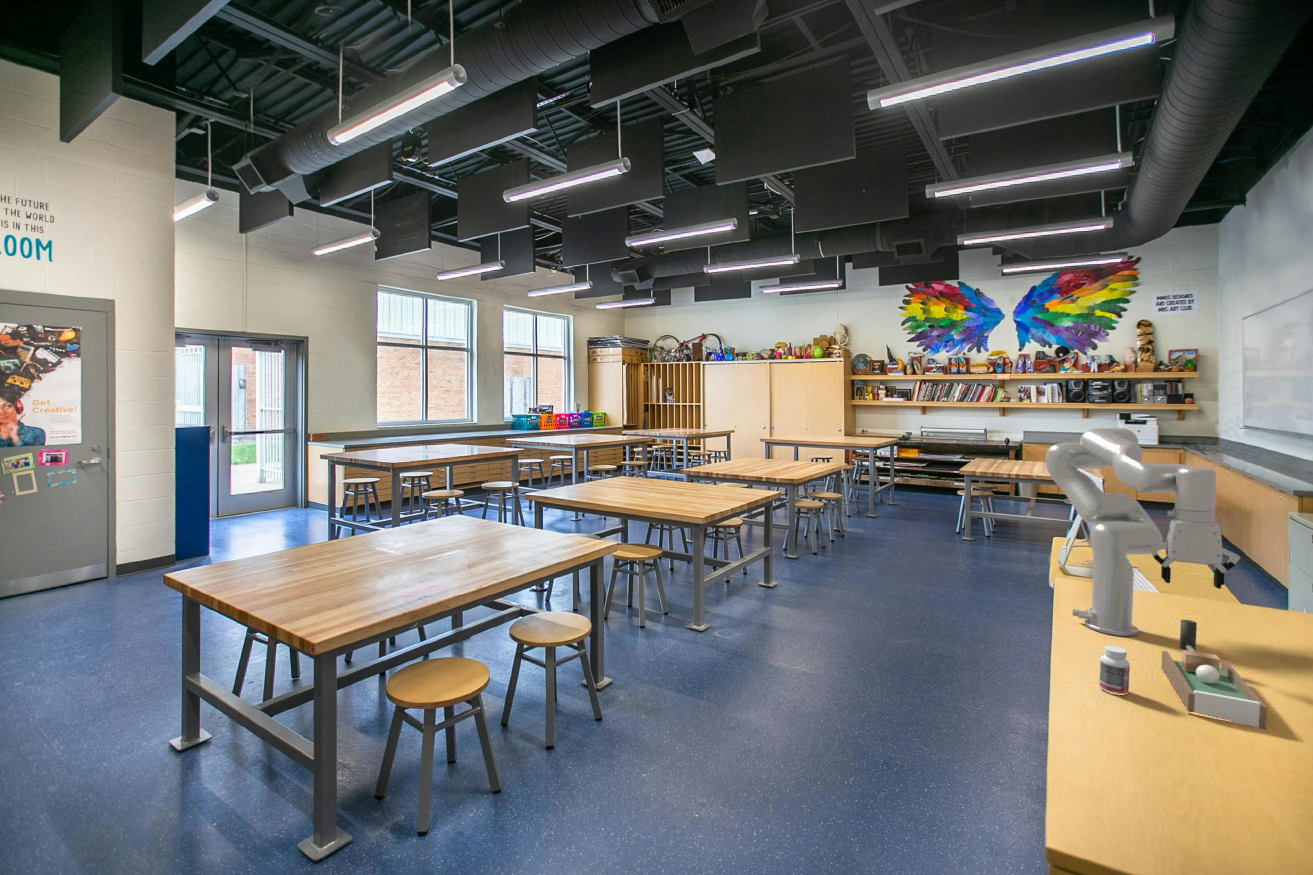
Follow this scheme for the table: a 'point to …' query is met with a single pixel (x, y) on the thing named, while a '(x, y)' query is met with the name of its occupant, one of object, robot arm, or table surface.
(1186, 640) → the striker
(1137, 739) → the table surface
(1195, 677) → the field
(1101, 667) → the pill bottle
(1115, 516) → the robot arm
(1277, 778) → the table surface
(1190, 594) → the table surface
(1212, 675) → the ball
